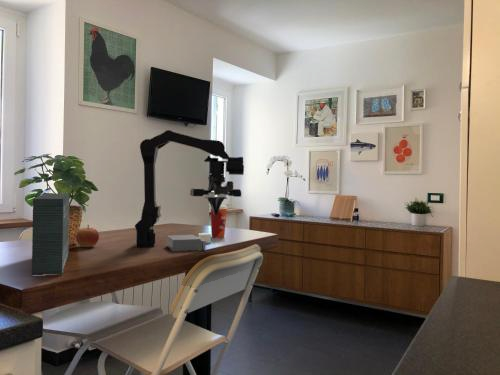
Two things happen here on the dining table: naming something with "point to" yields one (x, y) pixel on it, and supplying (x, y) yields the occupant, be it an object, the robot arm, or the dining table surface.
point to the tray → (203, 243)
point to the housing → (184, 242)
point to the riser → (205, 237)
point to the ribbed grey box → (50, 233)
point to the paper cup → (218, 222)
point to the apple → (87, 237)
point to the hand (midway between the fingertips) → (215, 215)
